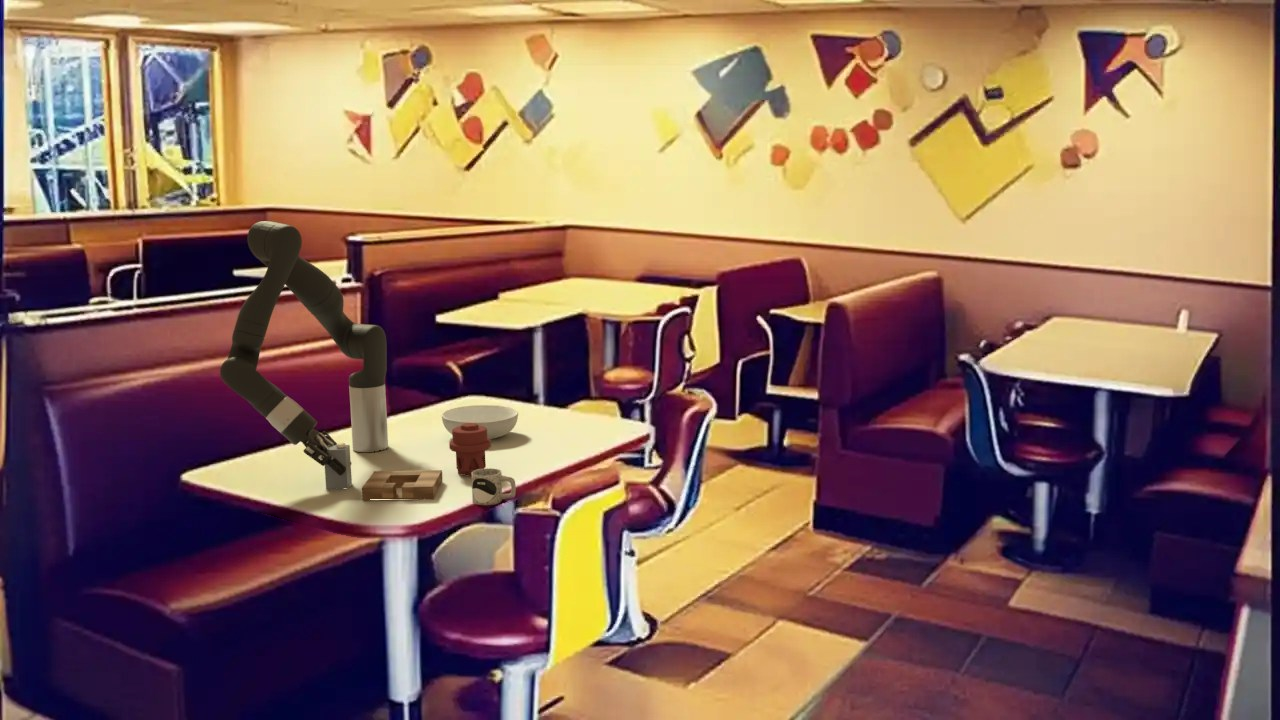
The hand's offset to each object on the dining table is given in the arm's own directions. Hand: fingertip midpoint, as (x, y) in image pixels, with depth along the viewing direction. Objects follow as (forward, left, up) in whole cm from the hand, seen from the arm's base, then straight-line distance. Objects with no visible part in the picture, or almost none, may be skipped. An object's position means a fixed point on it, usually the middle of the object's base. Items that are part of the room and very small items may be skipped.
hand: (346, 469), depth 275 cm
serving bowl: (-47, +26, -4) cm, 54 cm away
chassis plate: (+5, +14, -4) cm, 16 cm away
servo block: (0, -2, -4) cm, 5 cm away
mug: (+14, +36, -4) cm, 39 cm away
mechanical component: (-9, +28, -4) cm, 30 cm away
